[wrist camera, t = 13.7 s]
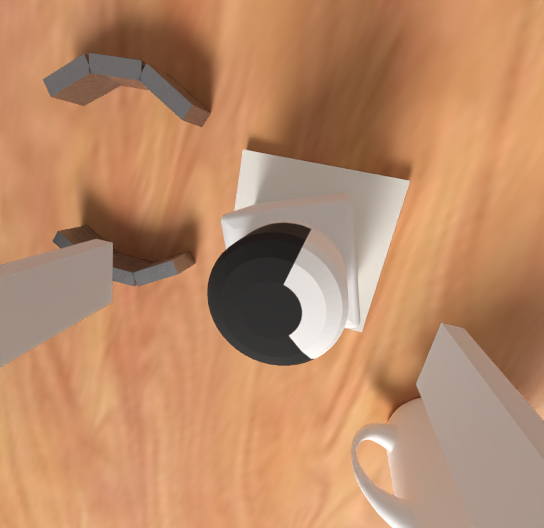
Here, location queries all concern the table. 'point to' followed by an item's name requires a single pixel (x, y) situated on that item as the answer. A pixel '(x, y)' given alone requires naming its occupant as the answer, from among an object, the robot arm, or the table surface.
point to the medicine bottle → (286, 278)
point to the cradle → (93, 84)
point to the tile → (327, 180)
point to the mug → (412, 473)
